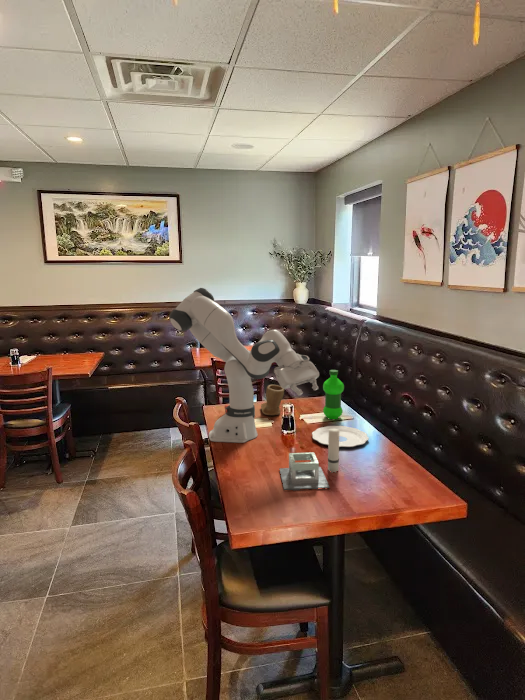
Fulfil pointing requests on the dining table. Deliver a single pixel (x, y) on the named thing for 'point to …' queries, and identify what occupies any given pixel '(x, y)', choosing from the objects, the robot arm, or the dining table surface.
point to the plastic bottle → (333, 396)
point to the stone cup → (273, 400)
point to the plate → (352, 435)
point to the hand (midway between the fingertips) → (308, 391)
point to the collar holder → (303, 473)
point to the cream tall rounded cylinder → (333, 450)
